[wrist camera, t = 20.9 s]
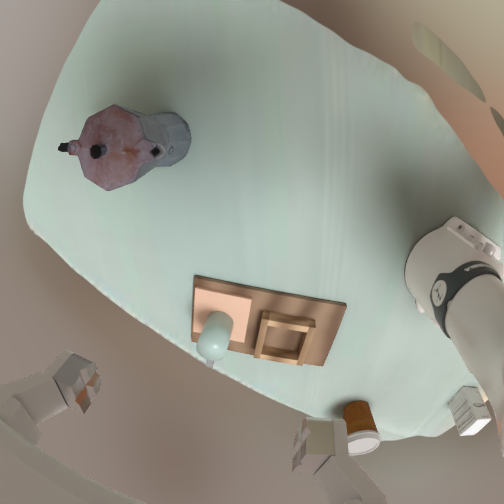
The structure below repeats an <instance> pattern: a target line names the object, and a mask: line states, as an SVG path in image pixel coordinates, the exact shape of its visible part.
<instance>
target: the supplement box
mask: <svg viewBox="0 0 504 504" xmlns="http://www.w3.org/2000/svg"><path fill="white" fill-rule="evenodd" d="M448 404H449V407H450V410H451V412H452V415H453V418H454V421H455V423H456V426H457V429H458V432H459V435H460V436H463V435H464V436H465V435H475V434H476V433H477V432H478V431H479V430H480V429H482V428H483V427H484V426H485V425H486V424H487V423H488V422H489V421H490V420H491V417H490V414H489V412H488V410H487V408H486V405H485V403H484V401H483V399H482V397H481V394H480V392H479V390H478V388H471V387H464V386H463V387H462V388H461V389H460V390H459V392H458V393H457V394H456V395H455V396H454V397H453V398H452V399H451V400H450V401H449V402H448Z"/></svg>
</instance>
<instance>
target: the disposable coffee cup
mask: <svg viewBox="0 0 504 504" xmlns="http://www.w3.org/2000/svg"><path fill="white" fill-rule="evenodd" d="M343 420H345V422H346V428H347V438H348V450H349V455H361V454H365V453H368V452H371V451H373V450H374V449H376V448H377V447H378V446H379V444H380V440H381V436H380V434H379V433H378V431H377V428H376V425H375V422H374V419H373V417H372V414H371V411H370V408H369V405H368V403H367V402H365V401H354V402H351V403H349V404H348V405H346V407H345V408H344V418H343Z"/></svg>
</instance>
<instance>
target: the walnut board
mask: <svg viewBox="0 0 504 504" xmlns="http://www.w3.org/2000/svg"><path fill="white" fill-rule="evenodd" d="M196 286H200V287H205V288H209V289H214V290H219V291H224V292H228V293H233V294H238V295H243V296H248V297H252V302H251V308H250V314H249V319H248V325H247V330H246V336H245V341H244V343H242V342H237V341H233V340H230V341H229V345H228V348H227V350H231V351H236V352H240V353H245V354H250V355H254V358H259V359H265V360H270V361H276V362H282V363H288V364H295V365H301V366H302V365H303V364H310V365H317V366H323V365H324V363H325V360H326V358H327V356H328V353H329V351H330V348H331V346H332V344H333V341H334V339H335V336H336V334H337V331H338V329H339V326H340V323H341V321H342V318H343V316H344V313H345V310H346V308H347V305H346V303H340V302H334V301H328V300H322V299H316V298H311V297H305V296H299V295H294V294H288V293H283V292H278V291H272V290H267V289H262V288H257V287H252V286H246V285H241V284H236V283H231V282H226V281H222V280H217V279H212V278H207V277H202V276H198V275H196V276H195V277H194V291H193V313H192V342H196V343H197V342H198V340H199V337H200V335H201V333H197V332H193V322H194V300H195V287H196Z"/></svg>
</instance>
